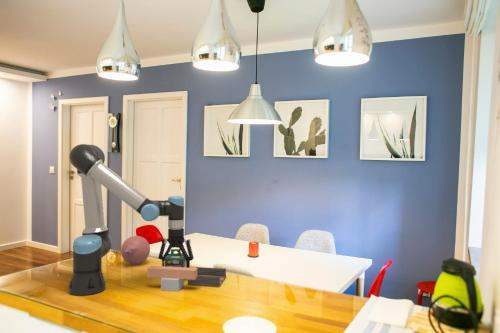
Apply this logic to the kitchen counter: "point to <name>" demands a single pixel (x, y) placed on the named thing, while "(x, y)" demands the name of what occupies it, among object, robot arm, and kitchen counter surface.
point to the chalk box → (175, 259)
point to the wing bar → (173, 272)
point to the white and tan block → (171, 284)
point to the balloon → (135, 250)
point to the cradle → (209, 277)
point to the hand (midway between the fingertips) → (175, 273)
